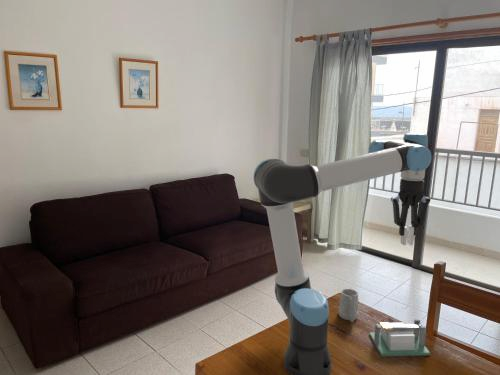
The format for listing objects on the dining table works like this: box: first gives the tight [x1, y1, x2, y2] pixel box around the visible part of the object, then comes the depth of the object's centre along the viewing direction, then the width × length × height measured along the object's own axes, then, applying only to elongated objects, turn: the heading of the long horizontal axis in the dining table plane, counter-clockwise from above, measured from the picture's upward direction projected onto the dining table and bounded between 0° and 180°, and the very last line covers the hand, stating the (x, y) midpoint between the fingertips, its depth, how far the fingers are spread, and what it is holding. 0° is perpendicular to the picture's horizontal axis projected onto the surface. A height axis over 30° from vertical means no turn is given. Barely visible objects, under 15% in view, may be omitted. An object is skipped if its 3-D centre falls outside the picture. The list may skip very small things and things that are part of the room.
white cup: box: [338, 288, 360, 323], centre depth 147 cm, size 8×12×12 cm, turn 179°
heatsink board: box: [368, 318, 431, 357], centre depth 131 cm, size 16×12×8 cm
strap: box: [379, 321, 423, 331], centre depth 131 cm, size 14×3×2 cm, turn 92°
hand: (406, 243), depth 136 cm, fingers closed
